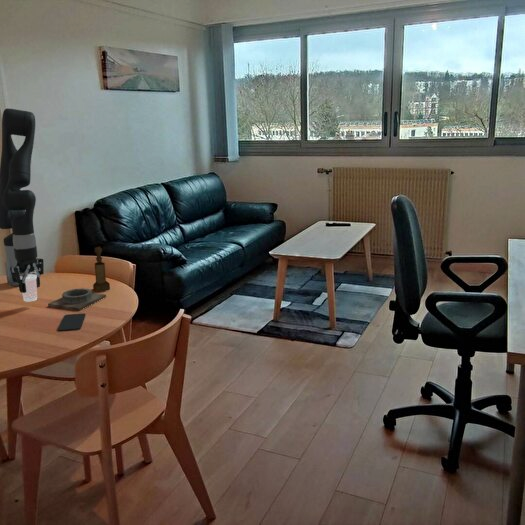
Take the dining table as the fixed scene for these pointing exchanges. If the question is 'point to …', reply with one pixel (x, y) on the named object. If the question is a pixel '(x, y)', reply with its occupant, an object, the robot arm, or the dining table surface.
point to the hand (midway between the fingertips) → (30, 289)
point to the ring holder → (76, 299)
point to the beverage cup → (30, 288)
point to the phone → (71, 322)
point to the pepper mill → (100, 273)
